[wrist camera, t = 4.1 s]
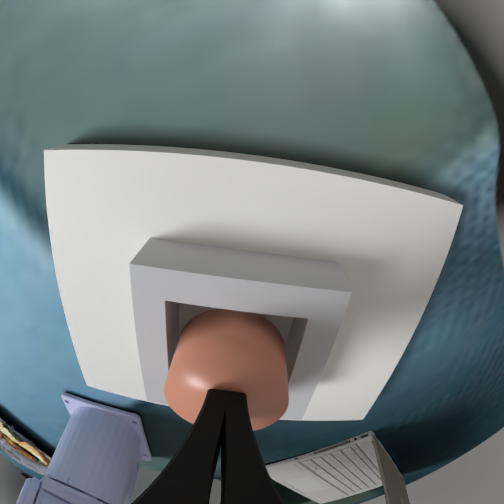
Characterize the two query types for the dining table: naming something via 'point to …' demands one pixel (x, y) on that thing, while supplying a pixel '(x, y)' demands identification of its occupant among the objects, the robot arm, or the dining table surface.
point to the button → (229, 365)
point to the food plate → (22, 449)
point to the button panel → (241, 264)
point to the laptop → (342, 471)
